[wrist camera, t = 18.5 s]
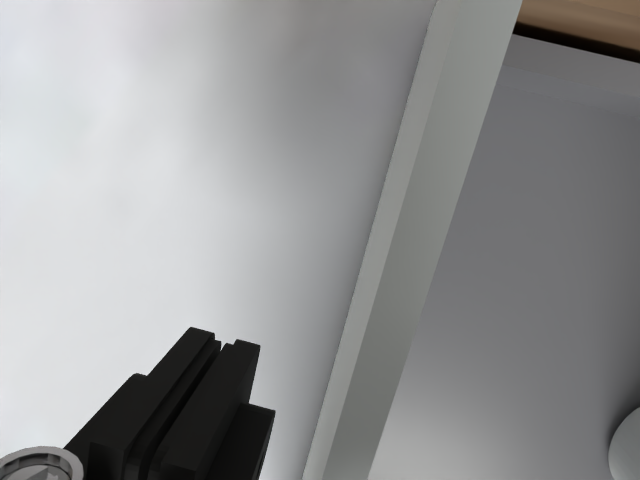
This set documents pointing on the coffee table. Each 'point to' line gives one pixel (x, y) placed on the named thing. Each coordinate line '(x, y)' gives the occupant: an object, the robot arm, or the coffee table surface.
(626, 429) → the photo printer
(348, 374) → the sliding tray
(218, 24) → the coffee table surface
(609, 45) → the walnut housing
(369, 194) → the coffee table surface
